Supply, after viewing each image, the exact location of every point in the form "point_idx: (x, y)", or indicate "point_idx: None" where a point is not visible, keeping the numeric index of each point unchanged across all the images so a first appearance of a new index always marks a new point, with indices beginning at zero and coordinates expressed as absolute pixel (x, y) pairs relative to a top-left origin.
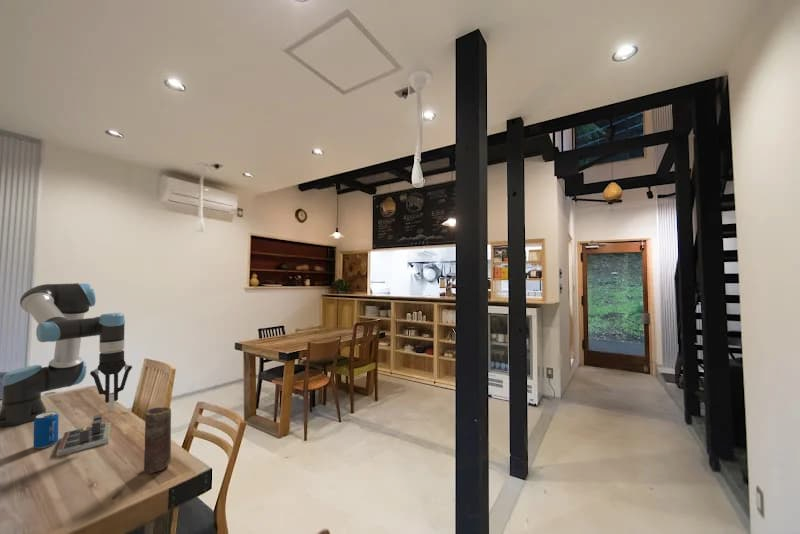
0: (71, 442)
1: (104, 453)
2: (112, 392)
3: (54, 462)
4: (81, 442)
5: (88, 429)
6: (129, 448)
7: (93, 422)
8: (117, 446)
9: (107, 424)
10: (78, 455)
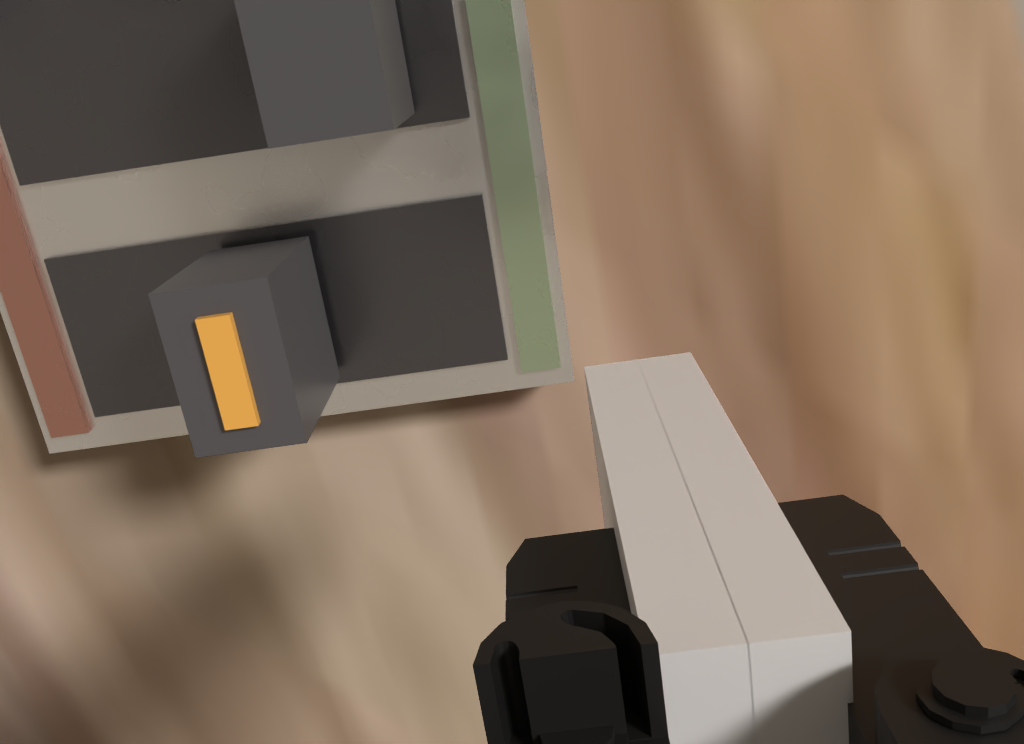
0: (116, 268)
1: None
2: (775, 650)
3: (129, 563)
4: None
5: (295, 410)
6: None
7: (262, 59)
8: None
9: None
10: (319, 521)
